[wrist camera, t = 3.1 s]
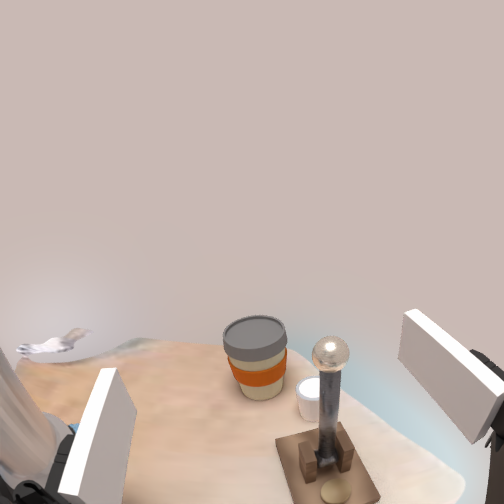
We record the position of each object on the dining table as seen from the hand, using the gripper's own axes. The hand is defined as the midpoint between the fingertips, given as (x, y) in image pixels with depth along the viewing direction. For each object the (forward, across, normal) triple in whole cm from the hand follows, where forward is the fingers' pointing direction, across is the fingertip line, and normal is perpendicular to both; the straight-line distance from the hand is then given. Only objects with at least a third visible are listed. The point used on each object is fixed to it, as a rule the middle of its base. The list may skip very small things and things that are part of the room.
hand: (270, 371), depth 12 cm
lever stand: (+14, +8, -38) cm, 42 cm away
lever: (+14, +8, -34) cm, 38 cm away
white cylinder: (+29, +11, -38) cm, 50 cm away
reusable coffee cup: (+40, +2, -38) cm, 56 cm away
